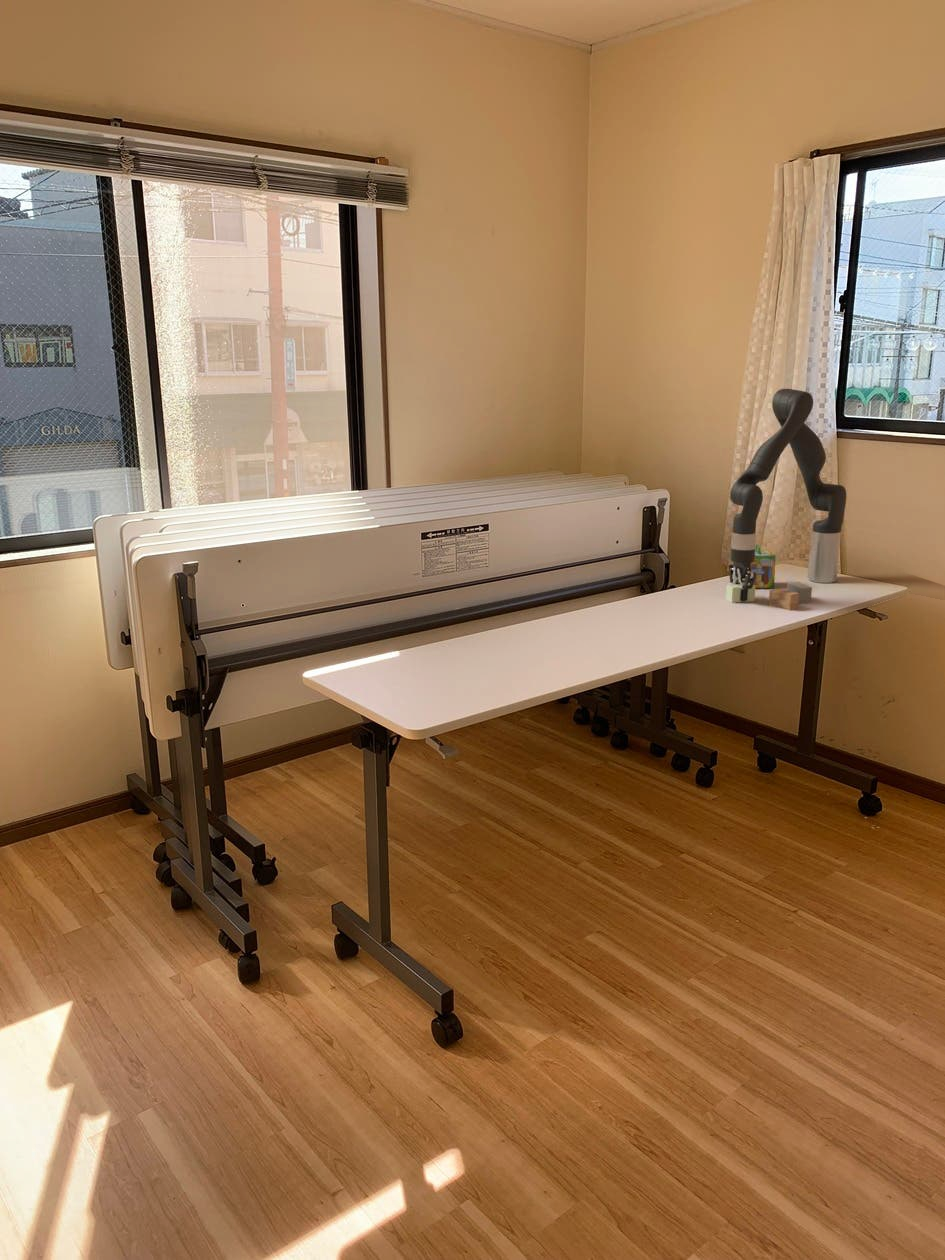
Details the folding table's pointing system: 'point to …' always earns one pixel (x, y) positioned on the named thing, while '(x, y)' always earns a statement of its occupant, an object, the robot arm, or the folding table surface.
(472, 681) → the folding table surface
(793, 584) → the charcoal brick
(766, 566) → the chalk box
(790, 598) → the walnut brick
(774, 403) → the robot arm
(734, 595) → the sage brick
